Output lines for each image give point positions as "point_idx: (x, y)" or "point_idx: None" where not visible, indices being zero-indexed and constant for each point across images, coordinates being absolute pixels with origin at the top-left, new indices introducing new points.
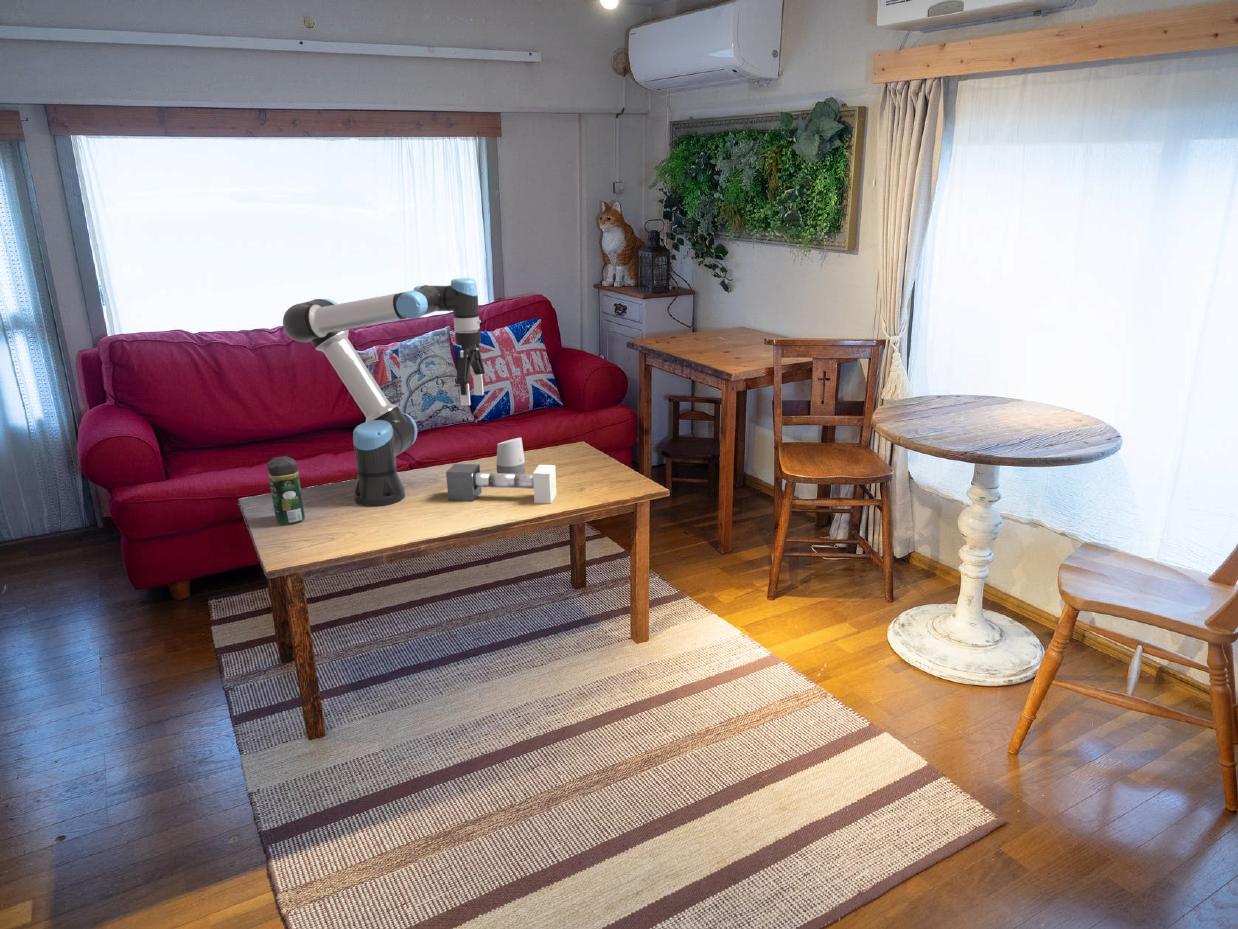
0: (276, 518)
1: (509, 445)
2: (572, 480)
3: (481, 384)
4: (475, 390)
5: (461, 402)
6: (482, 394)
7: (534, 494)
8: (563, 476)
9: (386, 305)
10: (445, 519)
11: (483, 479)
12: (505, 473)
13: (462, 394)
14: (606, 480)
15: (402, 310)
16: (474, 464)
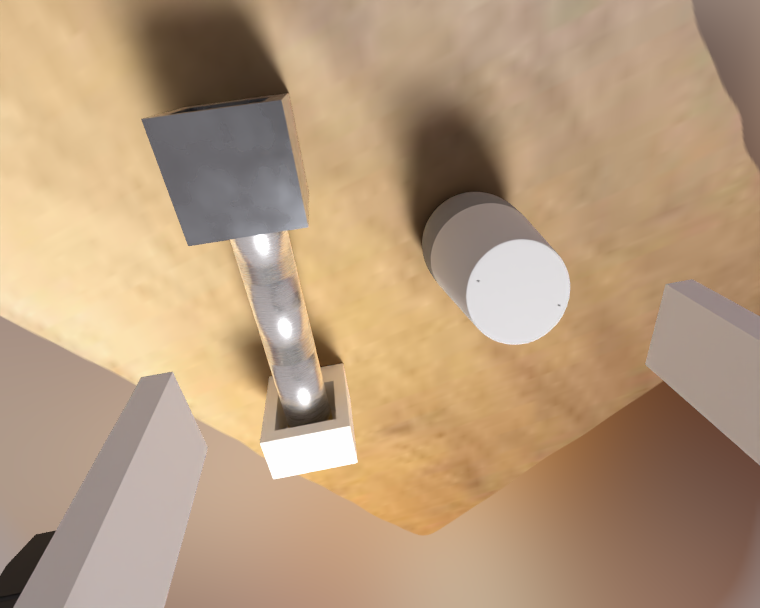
0: None
1: (465, 312)
2: (465, 389)
3: (753, 450)
4: (708, 326)
5: (132, 408)
6: (652, 365)
7: (267, 394)
8: (496, 359)
9: None
10: (7, 193)
11: (238, 263)
12: (287, 333)
13: (33, 561)
14: (472, 450)
15: None
16: (300, 205)
